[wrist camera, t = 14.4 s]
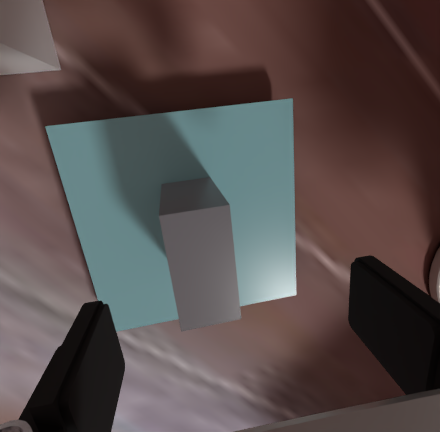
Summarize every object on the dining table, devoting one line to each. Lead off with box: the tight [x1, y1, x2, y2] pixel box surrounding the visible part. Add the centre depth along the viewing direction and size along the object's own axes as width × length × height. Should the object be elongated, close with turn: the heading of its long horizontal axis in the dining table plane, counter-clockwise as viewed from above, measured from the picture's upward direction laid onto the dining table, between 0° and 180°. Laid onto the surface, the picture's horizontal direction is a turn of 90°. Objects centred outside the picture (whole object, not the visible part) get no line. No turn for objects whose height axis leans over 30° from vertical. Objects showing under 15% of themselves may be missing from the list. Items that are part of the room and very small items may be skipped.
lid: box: [45, 98, 296, 332], centre depth 17 cm, size 14×14×8 cm
